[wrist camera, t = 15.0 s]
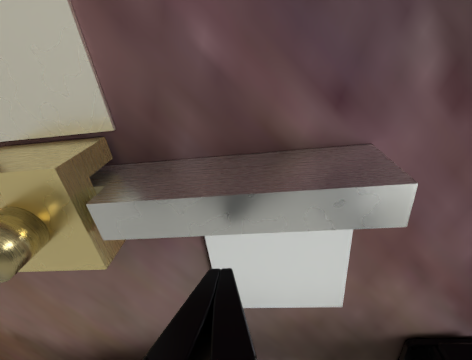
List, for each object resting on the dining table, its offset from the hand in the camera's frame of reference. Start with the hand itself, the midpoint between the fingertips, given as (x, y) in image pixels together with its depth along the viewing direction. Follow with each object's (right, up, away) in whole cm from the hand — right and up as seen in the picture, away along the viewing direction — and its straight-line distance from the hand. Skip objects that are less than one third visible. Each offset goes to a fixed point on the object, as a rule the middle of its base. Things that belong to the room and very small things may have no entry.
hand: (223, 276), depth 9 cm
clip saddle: (-9, +3, +5) cm, 11 cm away
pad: (+3, -2, +8) cm, 9 cm away
